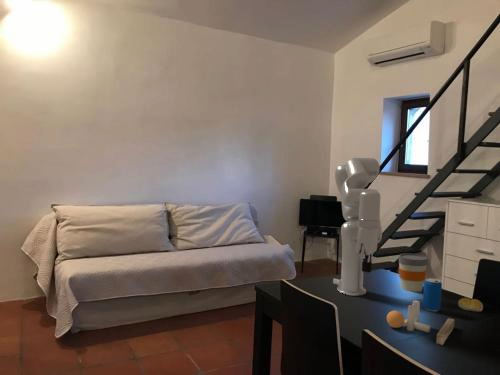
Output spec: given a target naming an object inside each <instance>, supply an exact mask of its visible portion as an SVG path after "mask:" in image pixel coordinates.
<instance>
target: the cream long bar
mask: <svg viewBox="0 0 500 375" xmlns="http://www.w3.org/2000/svg"><path fill="white" fill-rule="evenodd" d="M454 328H455V319H453V318H449V317H448V318H447V319H446V321H445V323H443V325H442V326H441V328H440V329H439V331H437V334H436V339H435V340H436V342H435V345H436V344H437V345H440V346H443V345H444V344H445V342H446V340H447V339H448V338H449V335H450V334H451V333H452V332H453V329H454Z"/></svg>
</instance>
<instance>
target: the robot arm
mask: <svg viewBox="0 0 500 375" xmlns="http://www.w3.org/2000/svg"><path fill="white" fill-rule="evenodd" d="M380 169H381V168H380V163H379V161H378V160H377V159H376V158H375V157H374V158H372V157H352V158H350V159H348V160H347V161H346V163H345V164H340V165H338V166H337V167H336V169H335V171H334V172H335V173H334V178H335V179H334V180H335V185H336V188H337V189H338V192H339V194H340V199H341V211H342V212H341V213H342V216H343V219H344V220H345V221H346V222H344V223H343V224H342V225H341V227H340V235H341V237H340V238H341V247H342V248H341V253H342V254H341V272H340V274H341V275H340V279H338V278H333V280H332V282H333V284H334V285H337V287H336V290H338V291H339V292H338V291H337V292H338V293H340V294H342V293H343V294H342V295H345V294H346V296H352V297H353V296H354V297H355V296H356V297H359V296H363V295H366V294H367V290H366V288H365V287H363V285H364V273H371V272H372V267H373V266H372V265H373V255H374V254H375V252H377V249H378V244H379V243H380V242H381V241H382V238H383V231H382V224H381V217H380V214H381V213H380V212H381V194H380V193H379V191H378V190H377V189H373V188H366V187H368V185H369V183H370V184H371V183H372V182H373V181H374V180H375V179H376V178H377V177H378V176H379V173H380V171H381V170H380ZM333 284H332V285H333Z"/></svg>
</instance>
